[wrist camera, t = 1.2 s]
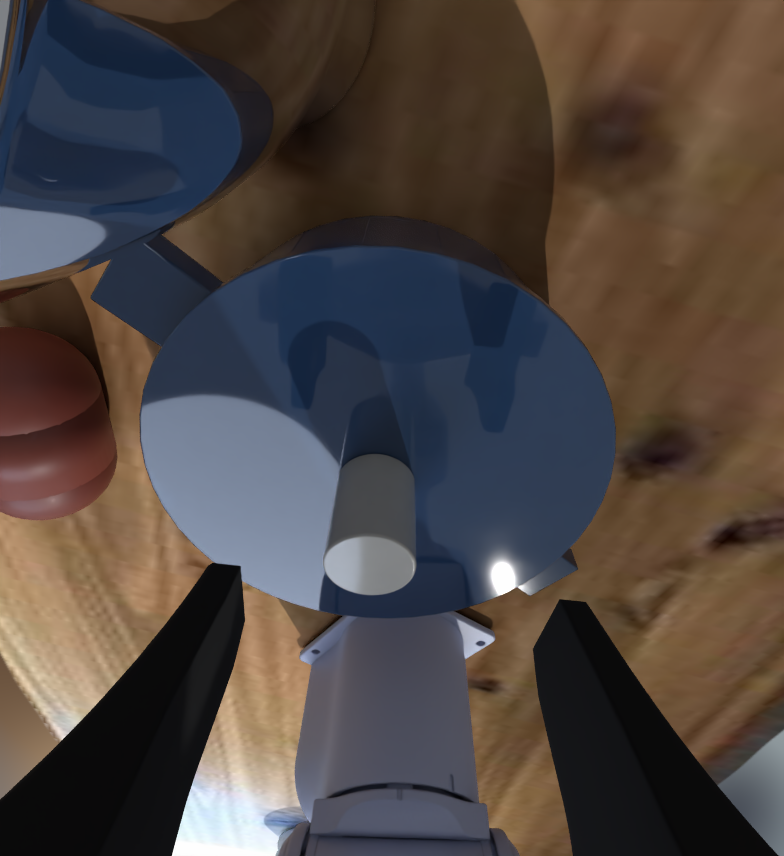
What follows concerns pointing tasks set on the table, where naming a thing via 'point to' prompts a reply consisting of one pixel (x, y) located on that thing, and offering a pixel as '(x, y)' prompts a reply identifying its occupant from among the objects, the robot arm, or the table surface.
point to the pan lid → (378, 429)
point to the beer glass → (150, 115)
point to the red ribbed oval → (50, 427)
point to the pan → (190, 282)
